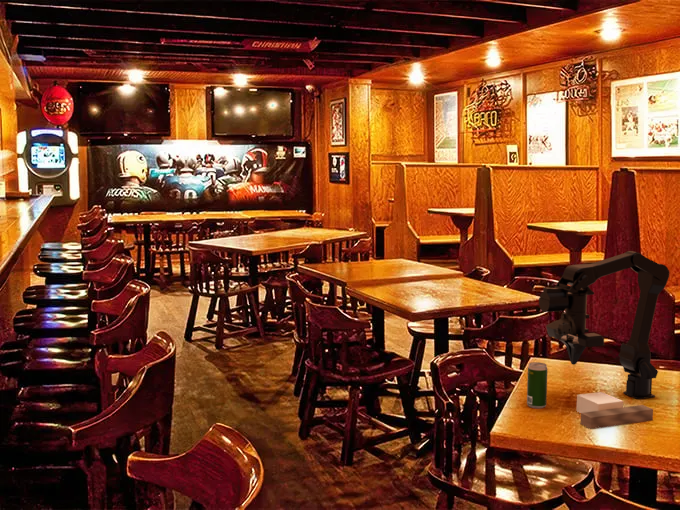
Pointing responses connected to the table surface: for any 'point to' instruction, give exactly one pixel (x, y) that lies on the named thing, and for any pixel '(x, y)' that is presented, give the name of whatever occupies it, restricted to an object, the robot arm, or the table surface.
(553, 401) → the table surface
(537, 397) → the beer can
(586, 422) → the board
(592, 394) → the block
